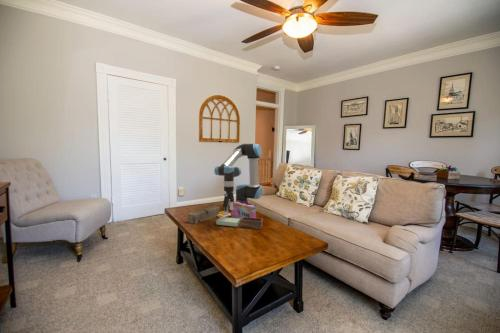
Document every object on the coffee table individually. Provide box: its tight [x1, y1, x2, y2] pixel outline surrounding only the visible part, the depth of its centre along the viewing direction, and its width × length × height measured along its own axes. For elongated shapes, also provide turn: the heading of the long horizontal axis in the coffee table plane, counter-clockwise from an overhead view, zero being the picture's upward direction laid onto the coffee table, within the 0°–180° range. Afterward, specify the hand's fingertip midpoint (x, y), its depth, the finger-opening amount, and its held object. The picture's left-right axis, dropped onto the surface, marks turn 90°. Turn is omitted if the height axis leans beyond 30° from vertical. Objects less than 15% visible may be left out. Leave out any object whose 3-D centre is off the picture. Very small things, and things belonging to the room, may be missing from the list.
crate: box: [240, 217, 264, 230], centre depth 174 cm, size 7×16×6 cm, turn 77°
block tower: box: [187, 205, 221, 225], centre depth 191 cm, size 8×8×29 cm
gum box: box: [230, 200, 257, 221], centre depth 193 cm, size 24×8×14 cm, turn 48°
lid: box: [215, 216, 241, 227], centre depth 179 cm, size 10×17×4 cm, turn 77°
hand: (228, 212), depth 178 cm, fingers open, 13 cm apart
